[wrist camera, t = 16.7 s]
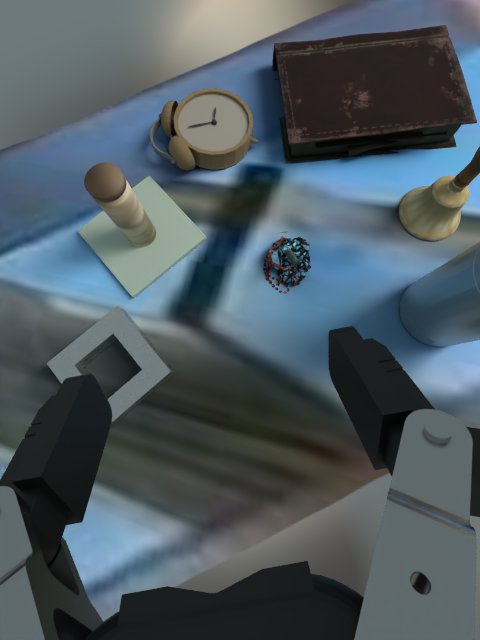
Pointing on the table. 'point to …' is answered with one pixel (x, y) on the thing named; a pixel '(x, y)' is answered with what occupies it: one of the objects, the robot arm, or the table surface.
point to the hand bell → (438, 204)
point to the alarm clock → (206, 130)
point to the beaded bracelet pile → (288, 261)
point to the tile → (153, 260)
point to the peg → (120, 203)
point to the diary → (370, 94)
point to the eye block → (134, 342)
